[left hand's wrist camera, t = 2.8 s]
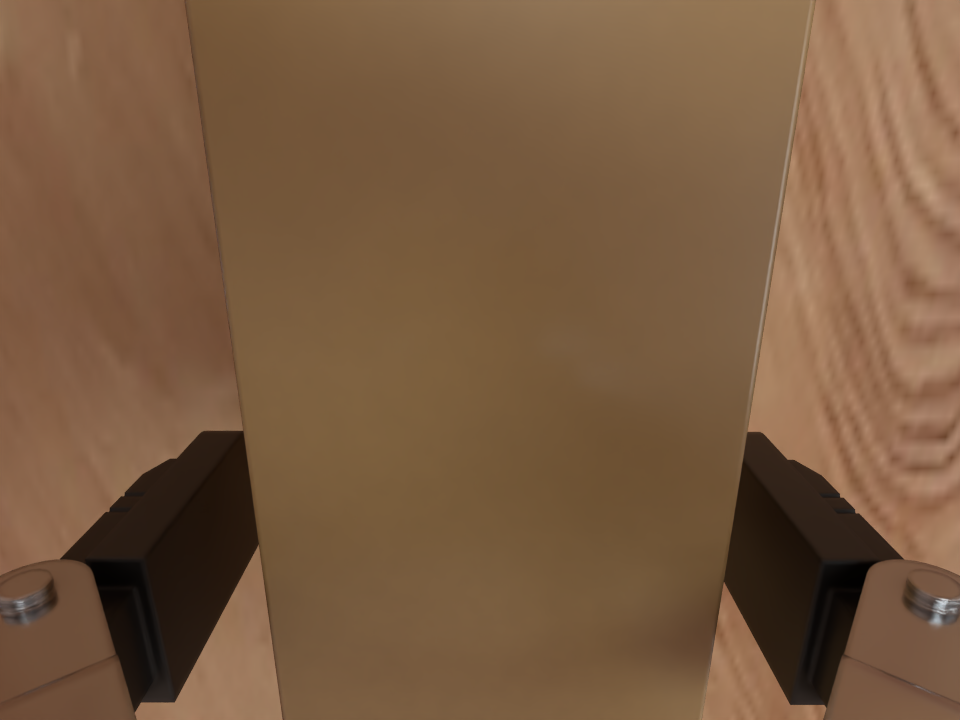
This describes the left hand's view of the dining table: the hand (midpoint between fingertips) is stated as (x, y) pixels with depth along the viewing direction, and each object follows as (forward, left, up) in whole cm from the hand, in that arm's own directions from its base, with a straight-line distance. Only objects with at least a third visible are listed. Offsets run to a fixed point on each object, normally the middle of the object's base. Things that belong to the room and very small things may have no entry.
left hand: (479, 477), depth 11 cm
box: (+9, +5, -8) cm, 13 cm away
